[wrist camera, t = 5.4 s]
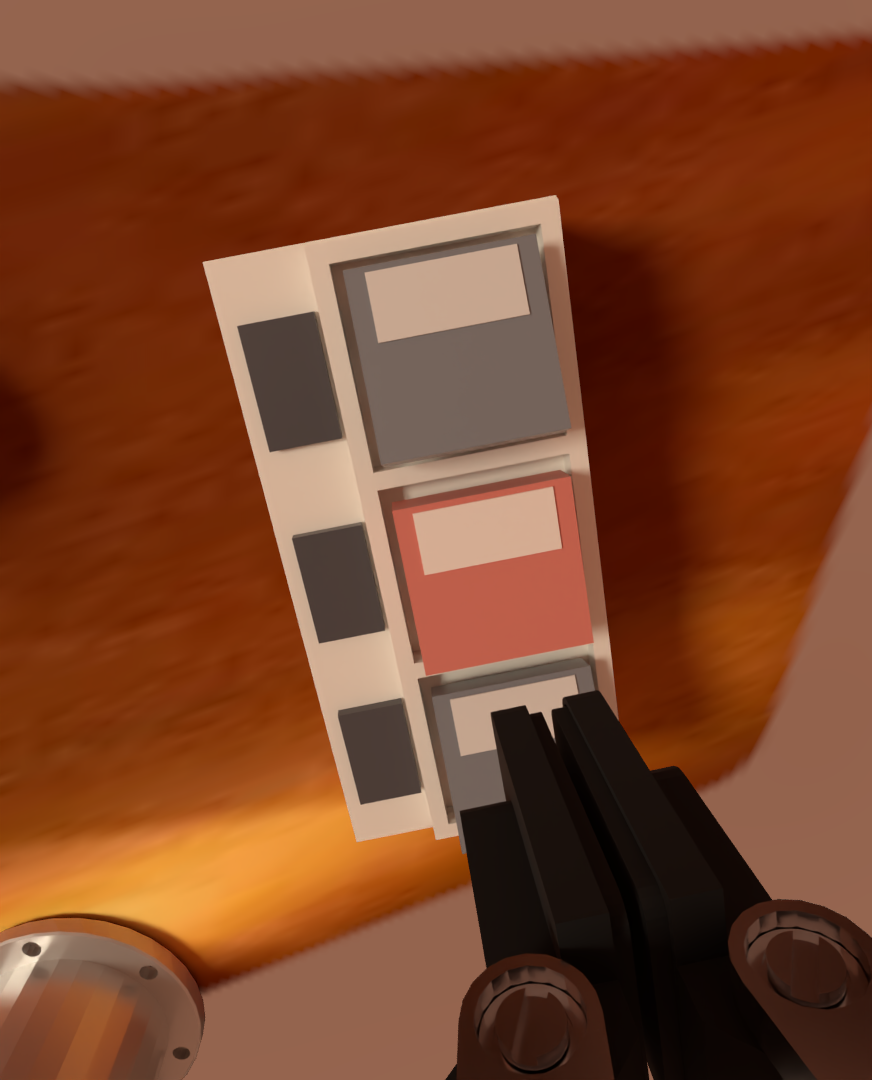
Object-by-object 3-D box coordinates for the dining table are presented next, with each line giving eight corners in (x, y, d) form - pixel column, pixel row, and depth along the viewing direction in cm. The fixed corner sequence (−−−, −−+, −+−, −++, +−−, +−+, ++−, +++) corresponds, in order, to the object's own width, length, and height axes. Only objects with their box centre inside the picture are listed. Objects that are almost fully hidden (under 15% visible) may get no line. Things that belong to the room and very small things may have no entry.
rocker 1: (561, 432, 22) (572, 427, 20) (383, 467, 22) (380, 464, 20) (528, 251, 21) (536, 232, 20) (347, 285, 21) (342, 269, 20)
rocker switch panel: (590, 720, 33) (633, 804, 27) (360, 766, 33) (355, 860, 27) (525, 218, 26) (564, 189, 21) (236, 273, 26) (194, 259, 20)
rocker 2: (609, 805, 26) (620, 822, 24) (460, 835, 26) (462, 854, 24) (581, 657, 26) (590, 666, 24) (431, 687, 26) (431, 697, 24)
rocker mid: (582, 627, 24) (594, 643, 23) (424, 658, 24) (426, 676, 23) (560, 469, 23) (571, 476, 21) (392, 502, 23) (391, 511, 21)
